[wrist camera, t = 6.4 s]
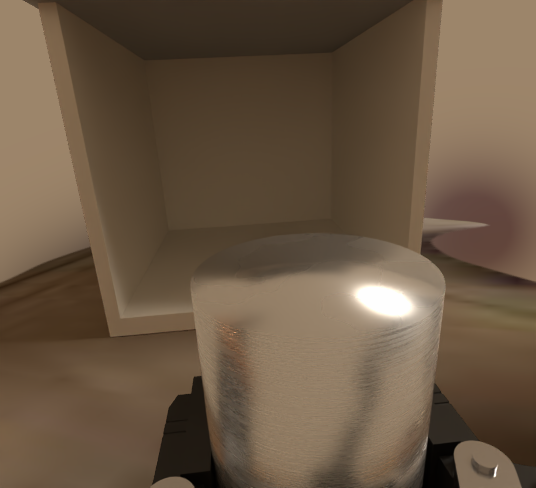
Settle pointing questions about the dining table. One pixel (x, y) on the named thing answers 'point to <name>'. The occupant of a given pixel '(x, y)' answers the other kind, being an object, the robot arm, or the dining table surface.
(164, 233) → the under-counter cabinet
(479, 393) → the dining table surface
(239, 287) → the chrome cylinder
